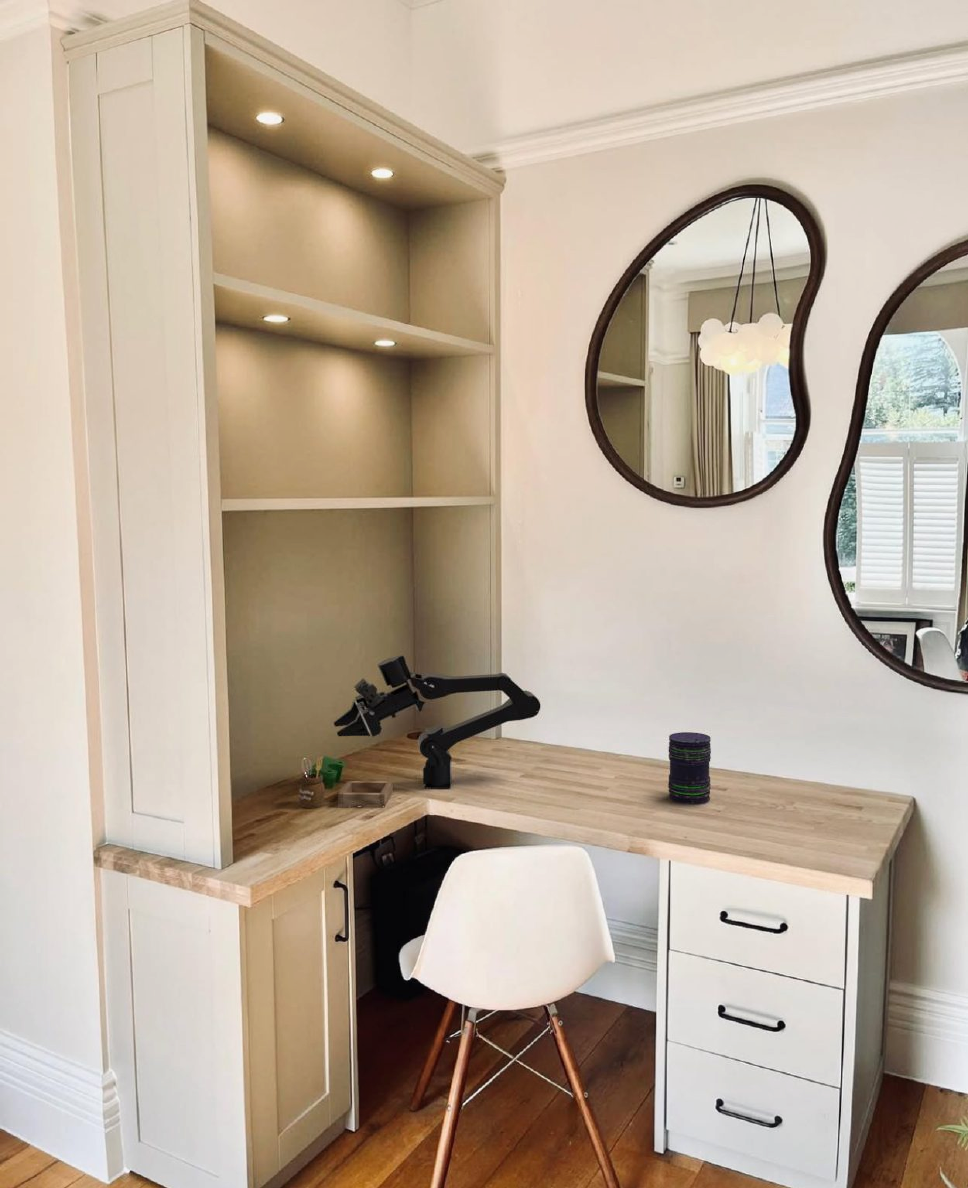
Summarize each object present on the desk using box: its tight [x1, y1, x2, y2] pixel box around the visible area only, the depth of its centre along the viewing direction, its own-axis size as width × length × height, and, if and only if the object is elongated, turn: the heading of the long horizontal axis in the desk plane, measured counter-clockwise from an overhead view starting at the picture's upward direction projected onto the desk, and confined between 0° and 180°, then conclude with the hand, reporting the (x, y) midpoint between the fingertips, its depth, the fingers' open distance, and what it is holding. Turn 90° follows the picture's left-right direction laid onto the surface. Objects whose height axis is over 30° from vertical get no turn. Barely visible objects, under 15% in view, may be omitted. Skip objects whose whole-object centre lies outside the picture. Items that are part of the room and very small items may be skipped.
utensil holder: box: [298, 756, 326, 809], centre depth 236 cm, size 6×6×12 cm
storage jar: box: [667, 731, 712, 806], centre depth 237 cm, size 10×10×15 cm
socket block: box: [337, 780, 393, 808], centre depth 240 cm, size 11×11×4 cm
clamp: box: [308, 756, 346, 789], centre depth 254 cm, size 12×6×9 cm, turn 164°
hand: (335, 729), depth 245 cm, fingers open, 9 cm apart
